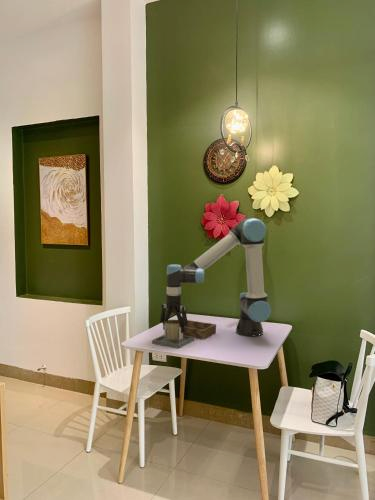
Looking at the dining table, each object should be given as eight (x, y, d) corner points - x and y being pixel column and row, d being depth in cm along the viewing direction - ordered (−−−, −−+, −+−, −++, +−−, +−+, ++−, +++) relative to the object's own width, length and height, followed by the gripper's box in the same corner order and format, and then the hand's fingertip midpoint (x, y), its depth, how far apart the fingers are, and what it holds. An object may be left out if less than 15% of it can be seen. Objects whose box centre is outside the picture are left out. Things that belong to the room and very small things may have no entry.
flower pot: (183, 335, 206) (183, 319, 206) (181, 341, 197) (181, 324, 196) (165, 335, 207) (166, 319, 207) (163, 340, 198) (163, 323, 197)
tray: (194, 340, 205) (194, 337, 205) (178, 348, 191) (178, 345, 191) (168, 335, 213) (168, 332, 213) (151, 343, 199) (151, 340, 199)
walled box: (216, 333, 219) (216, 324, 219) (203, 339, 206) (204, 330, 206) (179, 327, 231) (179, 318, 231) (166, 333, 218) (166, 324, 218)
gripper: (195, 295, 199) (194, 338, 200) (160, 291, 209) (160, 332, 210) (187, 297, 192) (187, 342, 194) (152, 293, 202) (152, 336, 204)
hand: (173, 337), depth 202 cm, fingers closed on flower pot, 8 cm apart
